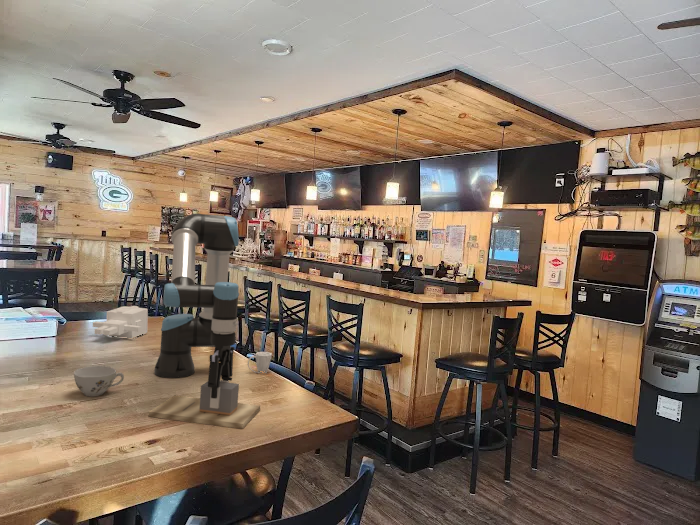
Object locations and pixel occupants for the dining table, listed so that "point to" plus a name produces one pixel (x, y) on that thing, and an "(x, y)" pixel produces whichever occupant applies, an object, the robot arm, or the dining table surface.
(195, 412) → the board
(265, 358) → the cup
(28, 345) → the dining table surface
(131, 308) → the white voxel figure
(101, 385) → the teacup
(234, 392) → the block
